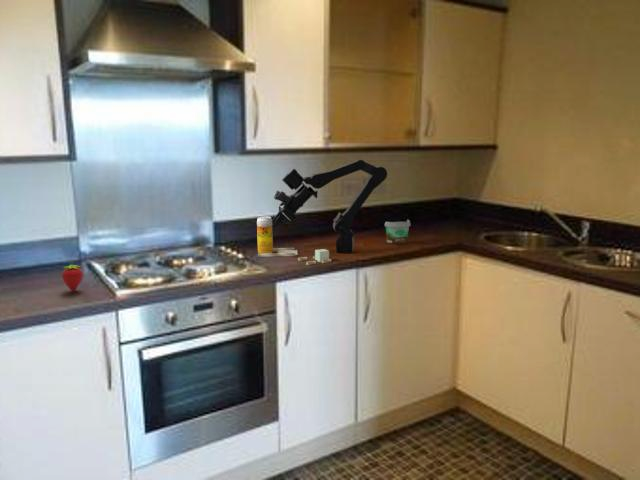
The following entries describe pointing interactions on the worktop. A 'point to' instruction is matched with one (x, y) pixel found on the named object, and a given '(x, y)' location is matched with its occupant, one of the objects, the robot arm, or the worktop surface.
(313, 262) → the broken lane
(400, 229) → the food container
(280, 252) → the mat
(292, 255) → the lane
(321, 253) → the sage cube
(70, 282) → the strawberry
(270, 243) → the yellow tall cylinder
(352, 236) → the robot arm
